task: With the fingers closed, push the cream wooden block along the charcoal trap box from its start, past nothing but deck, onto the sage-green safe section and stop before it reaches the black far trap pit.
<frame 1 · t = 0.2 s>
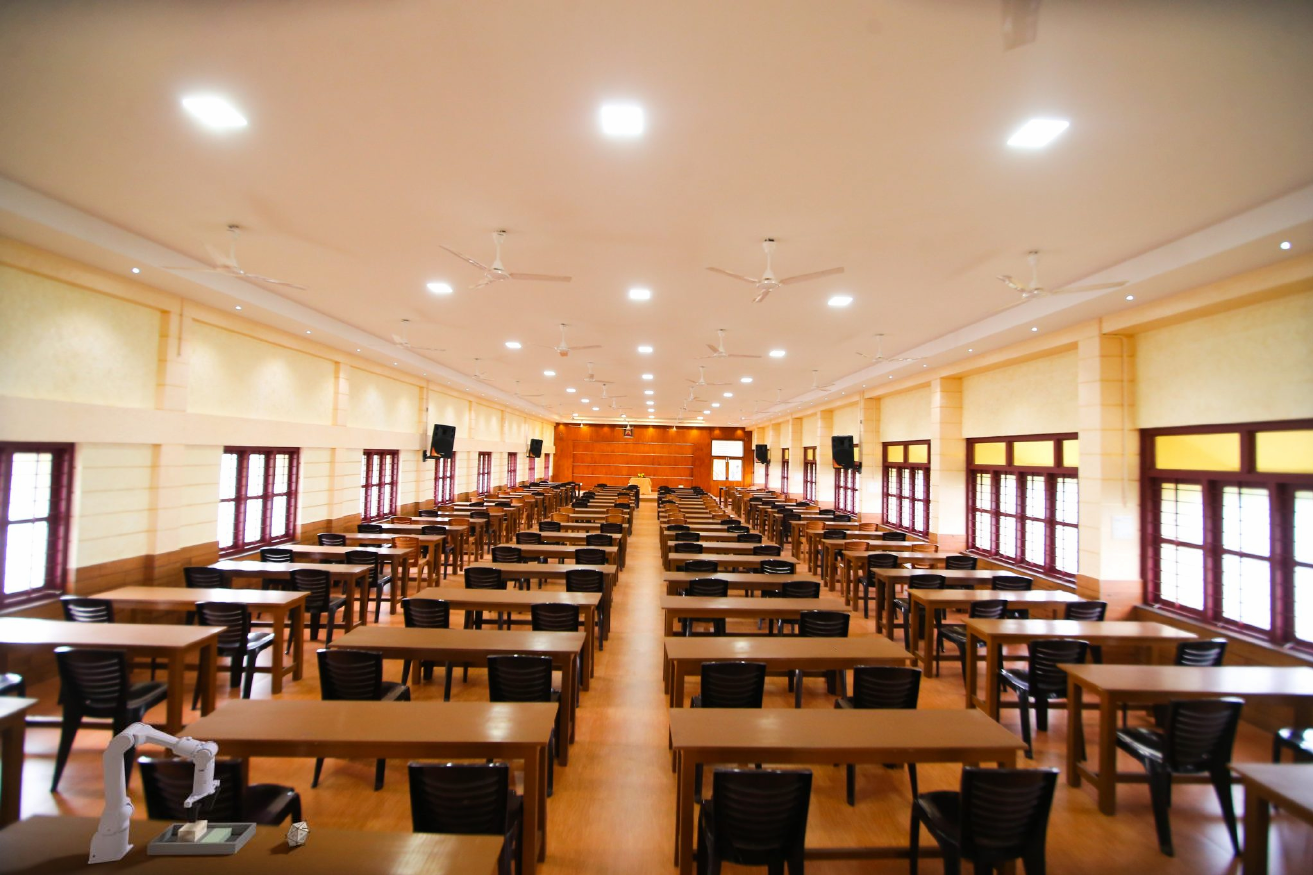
hand: (200, 816, 212), 10 cm above the table, fingers open, 7 cm apart
cream block: (192, 836, 212), point 2 cm above the table, touching trap box
trap box: (202, 843, 212), on the table
game die: (297, 845, 213), on the table
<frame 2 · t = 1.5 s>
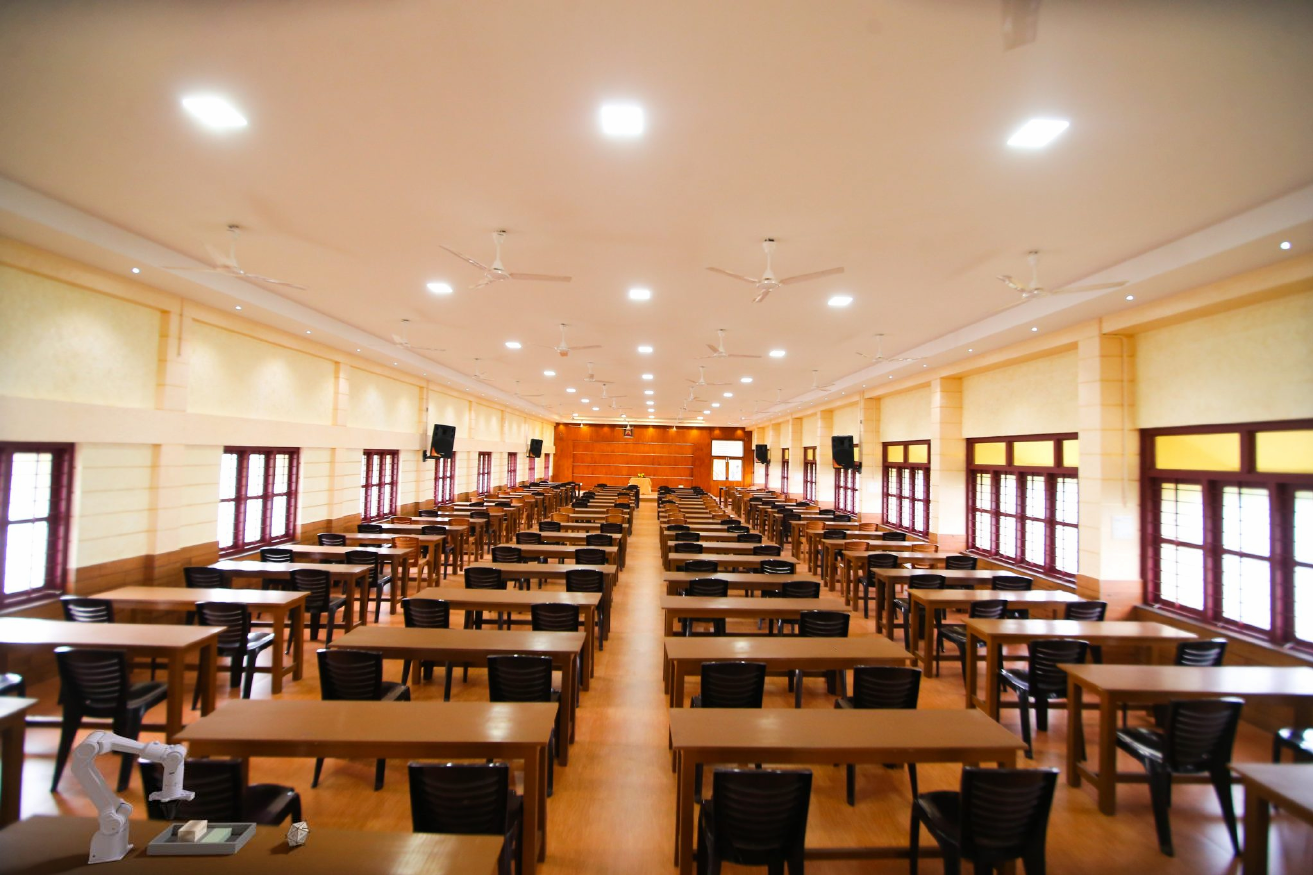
hand: (170, 819, 212), 9 cm above the table, fingers closed
nothing on the table moved.
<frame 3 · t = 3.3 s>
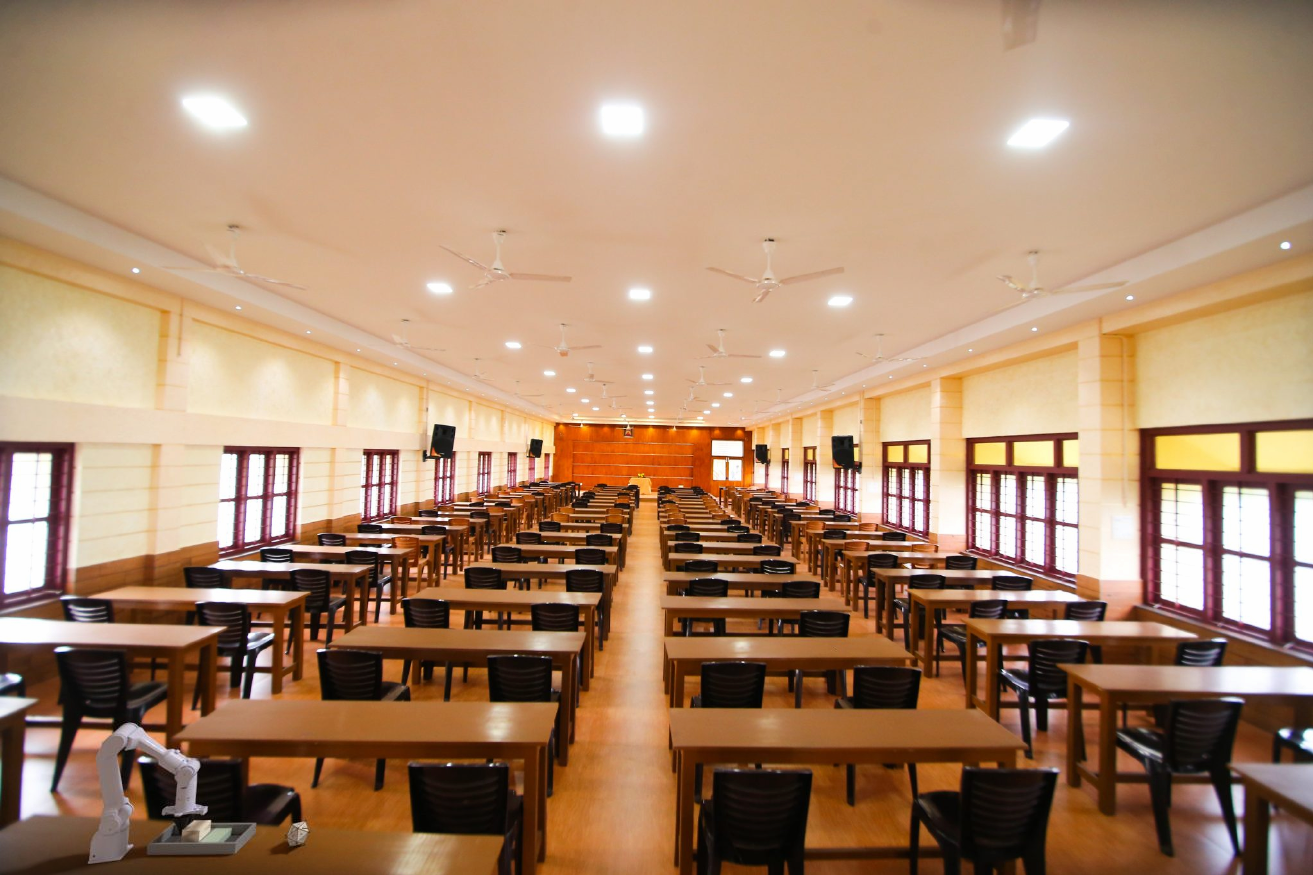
hand: (183, 833, 212), 4 cm above the table, fingers closed
cream block: (196, 836, 212), point 3 cm above the table, touching trap box
everything else where it was.
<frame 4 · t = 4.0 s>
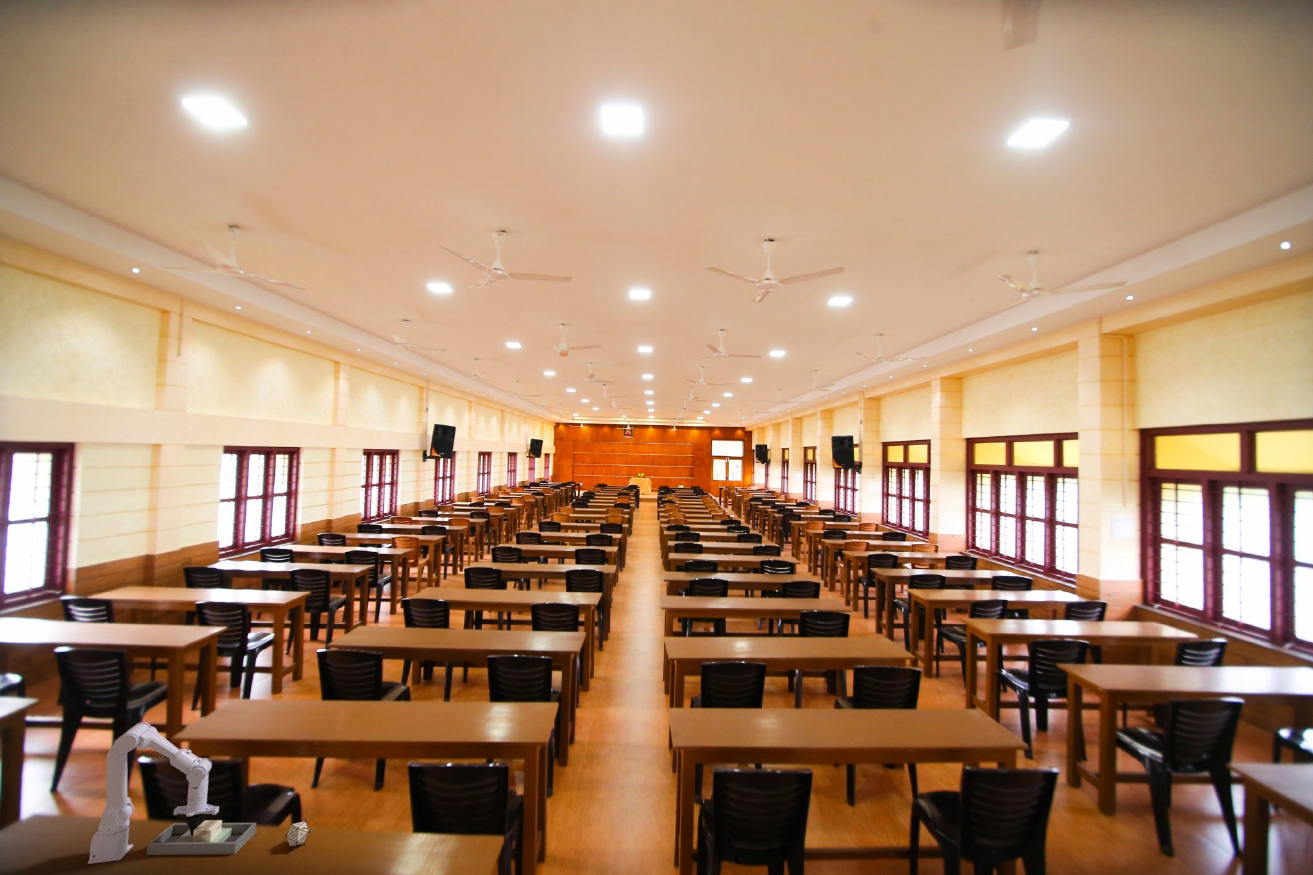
hand: (194, 833, 212), 4 cm above the table, fingers closed
cream block: (207, 836, 212), point 3 cm above the table, touching gripper, trap box
everything else where it was.
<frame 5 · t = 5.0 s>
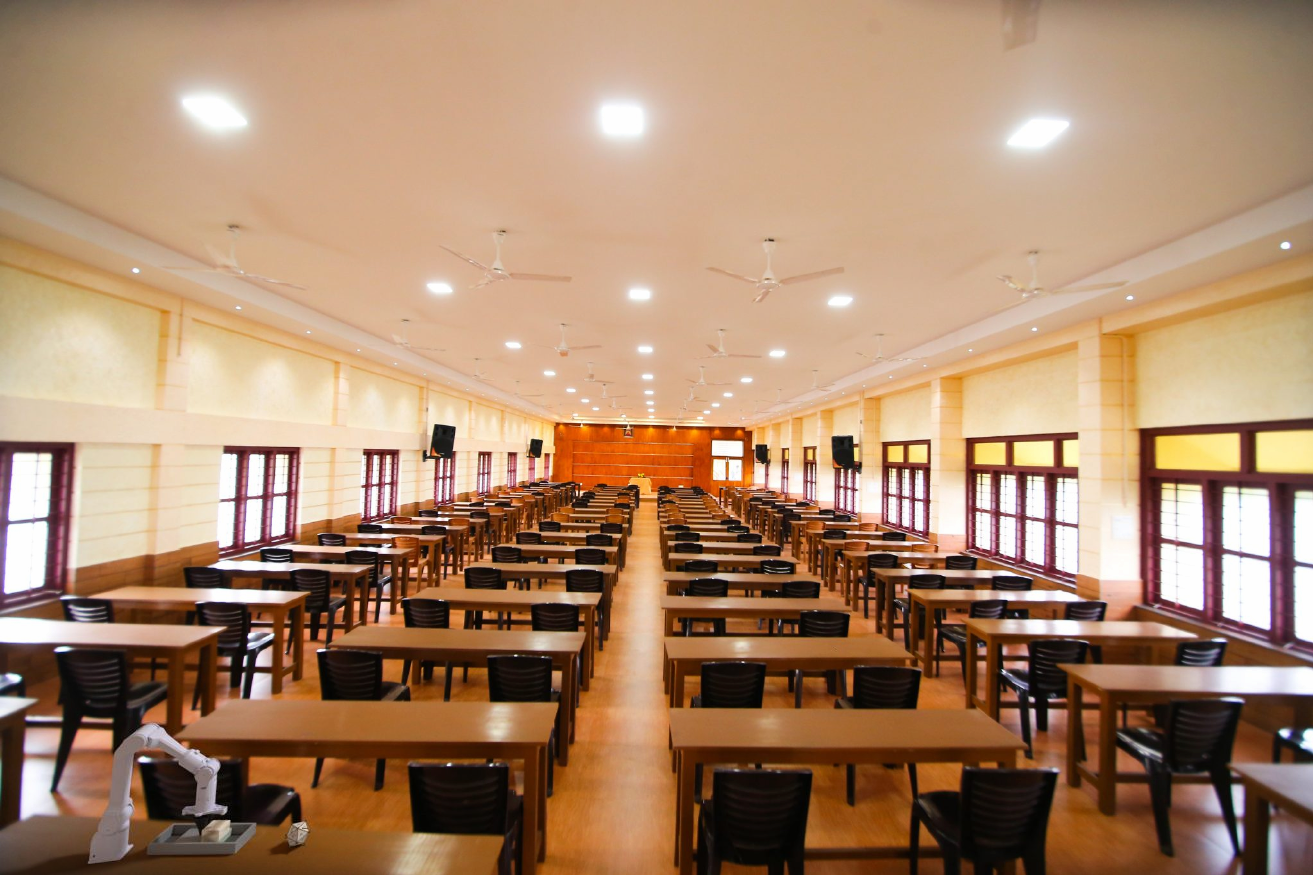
hand: (203, 833, 212), 4 cm above the table, fingers closed
cream block: (215, 836, 212), point 2 cm above the table, touching gripper, trap box
everything else where it was.
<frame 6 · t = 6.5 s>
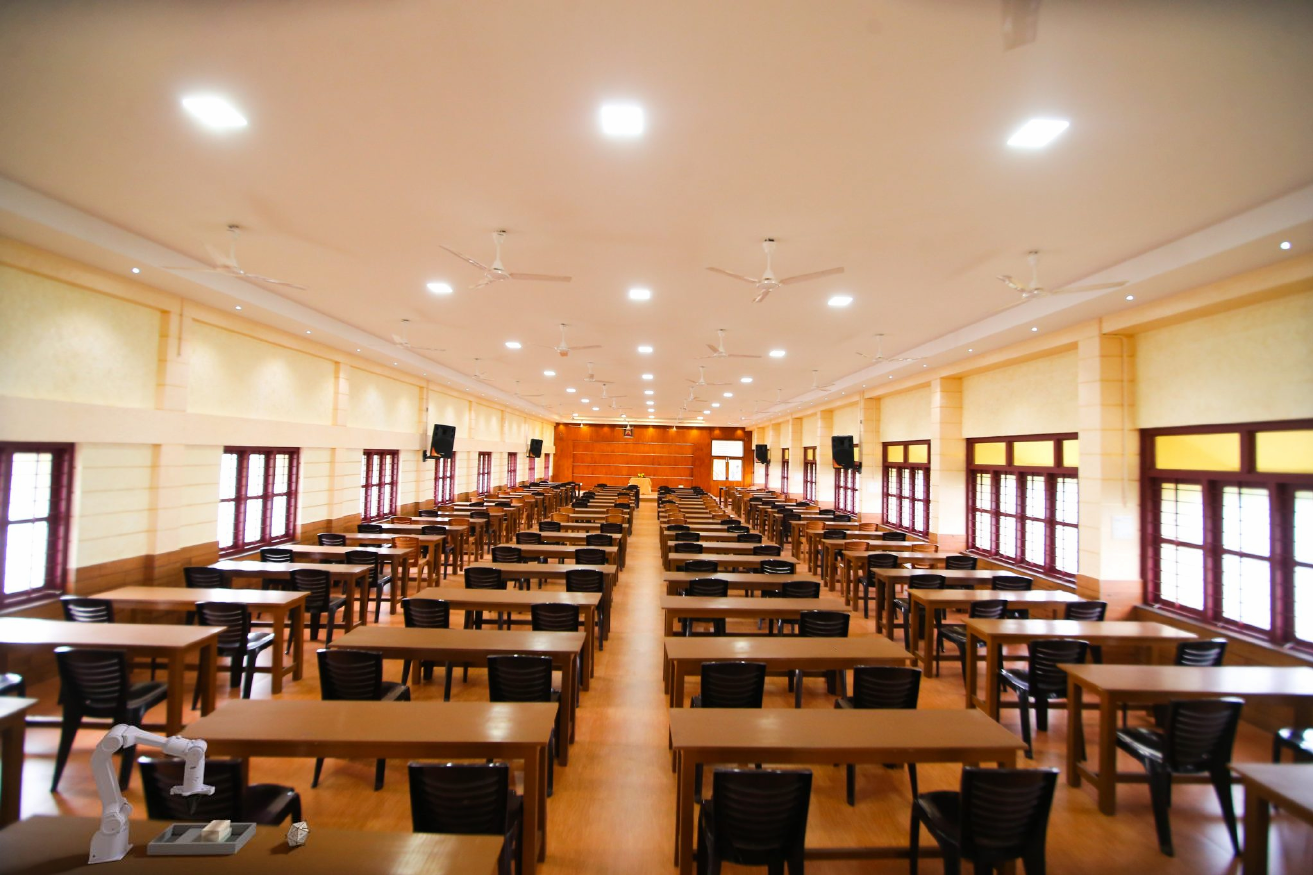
hand: (190, 813, 215), 9 cm above the table, fingers closed
cream block: (215, 836, 212), point 2 cm above the table, touching trap box
everything else where it was.
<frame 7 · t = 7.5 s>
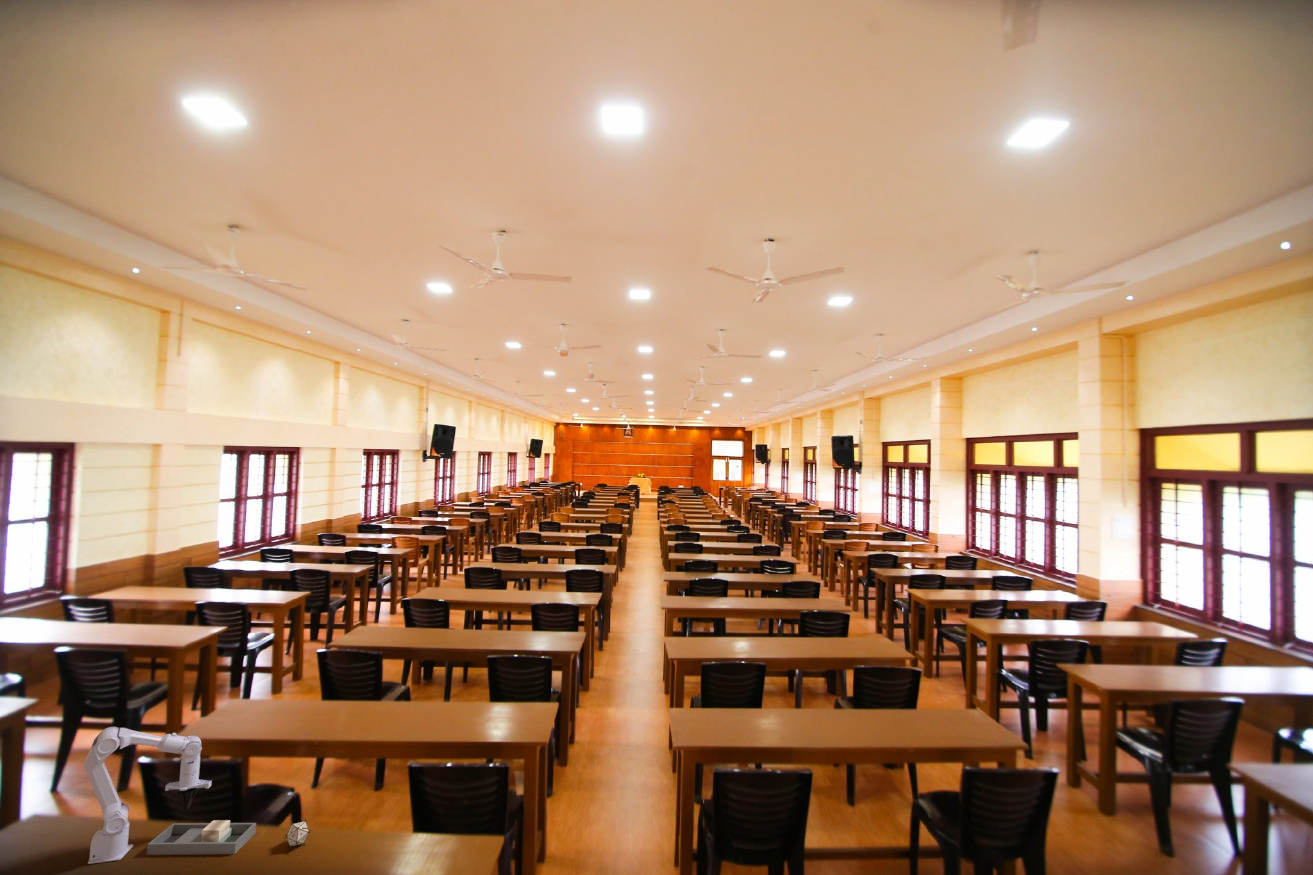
hand: (186, 807, 218), 9 cm above the table, fingers closed
nothing on the table moved.
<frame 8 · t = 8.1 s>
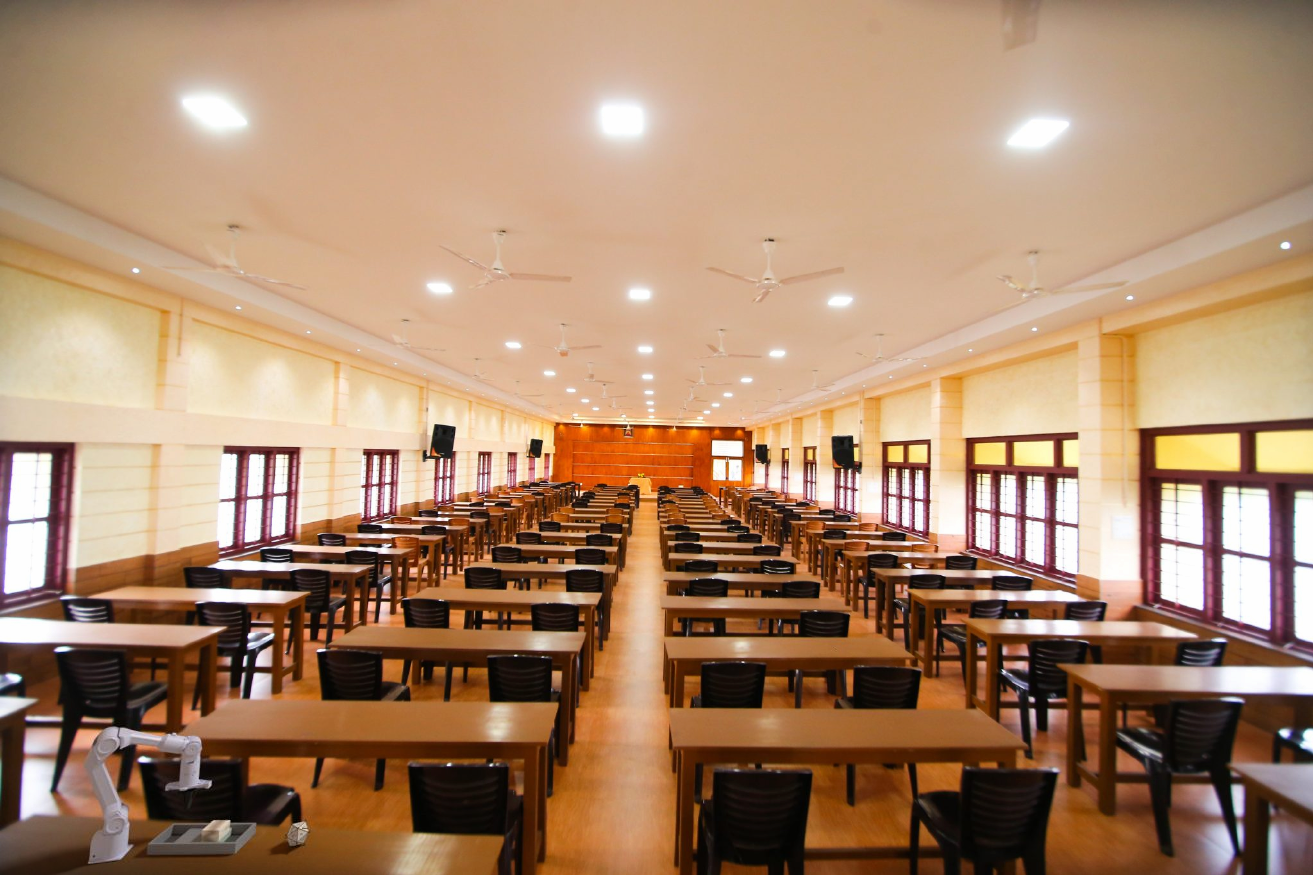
hand: (186, 807, 218), 9 cm above the table, fingers closed
nothing on the table moved.
at the end: cream block inside the target area on the trap box (1.4 cm from its centre), point 2.5 cm above the trap box's base; cream block tilted 0° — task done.
